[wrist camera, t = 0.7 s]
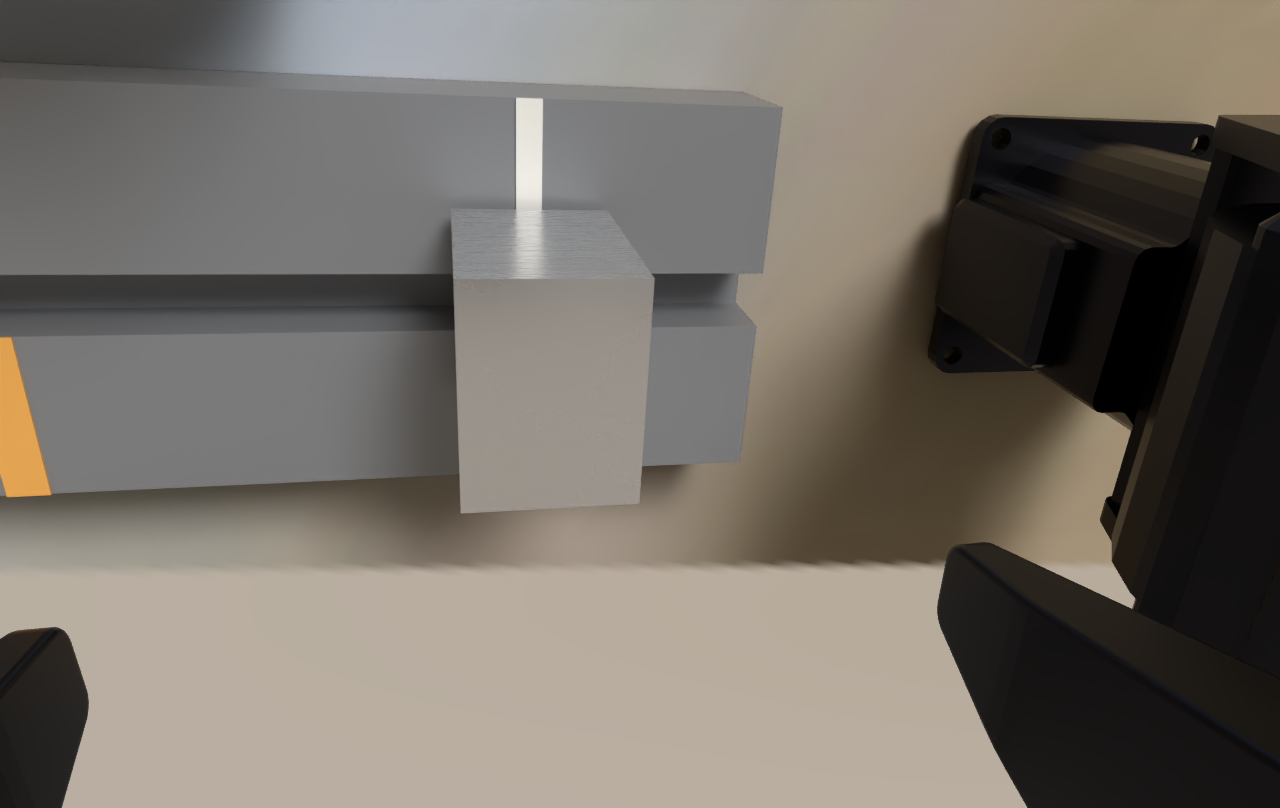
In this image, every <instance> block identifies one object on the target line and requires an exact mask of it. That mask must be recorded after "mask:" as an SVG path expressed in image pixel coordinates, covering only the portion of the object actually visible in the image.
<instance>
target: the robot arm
mask: <svg viewBox="0 0 1280 808" xmlns="http://www.w3.org/2000/svg"><path fill="white" fill-rule="evenodd" d="M998 129H1001V130H1002V137H1001V139H1000V142H999V143H998V144H997V145H995V146H992V144H991V138H992V136H993V134H994V132H996V131H997V130H998ZM1197 137H1198V140H1197V144H1196V146H1195V148H1194V149H1193V150H1192V151H1191V145H1192V143H1193V141H1194V139H1196V138H1197ZM935 301H936V303H937V304H938V306H937V311H936V316H935V320H934V325H933V330H932V335H931V340H930V344H929V349H928V357H929V360H930V362H931V363H932V364H933V365H935V366H936V367H937V368H938V369H940V370H941V371H942V372H946V373H969V372H1006V371H1037V372H1038V373H1040V374H1041V375H1043V376H1044V377H1046V378H1047V379H1049V380H1050V381H1052V382H1053V383H1055V384H1056V385H1058V386H1059V387H1061V388H1062V389H1064V390H1065V391H1067V392H1068V393H1070V394H1071V395H1073V396H1074V397H1075V398H1077V399H1078V400H1080V401H1081V402H1083V403H1084V404H1086V405H1087V406H1089V407H1090V408H1092V409H1093V410H1095V411H1097V412H1101V413H1105V414H1106V415H1108V416H1109V417H1111V418H1112V419H1114V420H1115V421H1117V422H1118V423H1120V424H1121V425H1123V426H1125V427H1126V428H1128V429H1129V430H1131V434H1130V437H1129V441H1128V444H1127V447H1126V451H1125V454H1124V458H1123V461H1122V464H1121V468H1120V471H1119V474H1118V478H1117V481H1116V484H1115V488H1114V491H1113V495H1112V496H1110V497H1107V498H1106V500H1105V503H1104V507H1103V510H1102V513H1101V517H1100V522H1101V524H1102V525H1103V527H1104V529H1105V531H1106V533H1107V534H1108V536H1109V538H1110V540H1111V541H1112V562H1113V564H1114V566H1115V568H1116V569H1117V571H1118V573H1119V574H1120V576H1121V578H1122V580H1123V581H1124V583H1125V585H1126V586H1127V588H1128V590H1129V591H1130V593H1131V594H1132V595H1133V596H1134V597H1135V598H1136V599H1135V602H1134V605H1133V608H1132V609H1131V608H1129V607H1126V606H1124V605H1122V604H1120V603H1118V602H1116V601H1114V600H1111V599H1109V598H1107V597H1105V596H1103V595H1101V594H1098V593H1096V592H1094V591H1092V590H1090V589H1088V588H1086V587H1084V586H1082V585H1079V584H1077V583H1075V582H1073V581H1071V580H1069V579H1066V578H1064V577H1062V576H1060V575H1058V574H1056V573H1054V572H1052V571H1049V570H1047V569H1045V568H1043V567H1041V566H1039V565H1037V564H1034V563H1032V562H1030V561H1028V560H1026V559H1024V558H1022V557H1019V556H1017V555H1015V554H1013V553H1011V552H1009V551H1007V550H1004V549H1002V548H1000V547H998V546H996V545H994V544H991V543H986V542H983V543H972V544H961V545H956V546H954V547H953V548H952V549H951V550H950V551H949V553H948V556H947V559H946V564H945V569H944V574H943V579H942V584H941V589H940V594H939V599H938V606H937V614H938V620H939V624H940V627H941V630H942V632H943V634H944V637H945V639H946V641H947V643H948V646H949V648H950V650H951V653H952V655H953V657H954V660H955V662H956V664H957V666H958V669H959V671H960V673H961V675H962V678H963V680H964V682H965V685H966V687H967V689H968V691H969V694H970V696H971V698H972V701H973V703H974V705H975V707H976V710H977V712H978V714H979V717H980V719H981V721H982V723H983V725H984V728H985V730H986V732H987V734H988V736H989V738H990V740H991V743H992V745H993V747H994V749H995V751H996V752H997V754H998V756H999V758H1000V760H1001V762H1002V763H1003V765H1004V767H1005V769H1006V771H1007V772H1008V774H1009V776H1010V778H1011V780H1012V781H1013V783H1014V785H1015V787H1016V788H1017V790H1018V791H1019V794H1020V795H1021V797H1022V799H1023V801H1024V802H1025V804H1026V806H1027V808H1280V115H1219V116H1218V120H1217V123H1216V126H1215V128H1214V127H1213V126H1211V125H1207V124H1203V123H1198V122H1183V121H1157V120H1130V119H1104V118H1077V117H1051V116H1024V115H998V114H997V115H991V116H988V117H987V118H985V119H983V120H982V121H981V122H980V123H979V125H978V126H977V127H976V130H975V132H974V135H973V139H972V144H971V149H970V153H969V158H968V163H967V168H966V172H965V177H964V182H963V187H962V192H961V196H960V201H959V203H958V204H957V206H956V207H955V208H954V211H953V216H952V221H951V225H950V230H949V235H948V240H947V245H946V249H945V254H944V259H943V264H942V269H941V274H940V278H939V283H938V288H937V293H936V298H935ZM950 347H954V351H953V354H952V355H951V356H949V357H948V358H945V359H944V355H945V353H946V351H947V350H948V349H949V348H950ZM88 704H89V701H88V693H87V689H86V686H85V683H84V680H83V677H82V674H81V671H80V668H79V665H78V662H77V659H76V656H75V652H74V650H73V646H72V643H71V641H70V639H69V636H68V635H67V633H66V632H65V631H64V630H62V629H60V628H57V627H51V628H39V629H27V630H18V631H14V632H11V633H9V634H7V635H6V636H4V637H3V638H1V639H0V808H62V805H63V801H64V797H65V794H66V791H67V787H68V784H69V780H70V777H71V773H72V770H73V766H74V762H75V759H76V755H77V752H78V748H79V745H80V741H81V738H82V735H83V731H84V728H85V724H86V720H87V716H88V707H89V705H88Z"/></svg>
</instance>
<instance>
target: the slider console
mask: <svg viewBox="0 0 1280 808" xmlns="http://www.w3.org/2000/svg"><path fill="white" fill-rule="evenodd" d="M782 109H783V107H780V106H778V105H775V104H772V103H770V102H767V101H765V100H762V99H760V98H757V97H755V96H752V95H750V94H747V93H745V92H729V91H704V90H680V89H655V88H631V87H606V86H582V85H557V84H533V83H508V82H484V81H459V80H435V79H410V78H386V77H361V76H337V75H312V74H288V73H263V72H239V71H214V70H189V69H165V68H140V67H116V66H91V65H67V64H42V63H18V62H0V496H7V497H22V496H44V495H52V494H55V493H76V492H98V491H119V490H141V489H163V488H184V487H206V486H227V485H249V484H270V483H292V482H313V481H335V480H356V479H378V478H399V477H421V476H442V475H459V448H458V419H457V389H456V358H455V326H454V297H453V262H452V231H451V209H515V210H596V211H608V212H609V214H610V215H611V217H612V218H613V219H614V221H615V222H616V224H617V225H618V227H619V228H620V229H621V231H622V232H623V234H624V235H625V237H626V238H627V240H628V241H629V242H630V244H631V245H632V247H633V248H634V250H635V251H636V252H637V254H638V255H639V257H640V258H641V260H642V261H643V262H644V264H645V265H646V267H647V268H648V270H649V271H650V273H651V274H652V275H653V277H654V278H655V281H654V296H653V310H652V325H651V340H650V355H649V370H648V384H647V399H646V414H645V429H644V444H643V458H642V466H658V465H679V464H701V463H722V462H740V458H741V450H742V441H743V433H744V425H745V416H746V408H747V400H748V392H749V383H750V375H751V367H752V358H753V350H754V342H755V333H756V325H755V324H754V323H753V322H752V321H751V319H750V318H749V317H748V316H747V315H746V314H745V313H744V312H743V310H742V309H741V308H740V307H739V306H738V305H737V304H736V303H735V300H736V291H737V282H738V273H763V267H764V259H765V250H766V242H767V234H768V225H769V217H770V209H771V200H772V192H773V184H774V175H775V167H776V159H777V151H778V142H779V134H780V126H781V117H782Z"/></svg>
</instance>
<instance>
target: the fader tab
mask: <svg viewBox="0 0 1280 808" xmlns="http://www.w3.org/2000/svg"><path fill="white" fill-rule="evenodd" d="M451 231H452V262H453V297H454V326H455V358H456V389H457V419H458V448H459V477H460V506H461V514H462V513H480V512H498V511H516V510H534V509H552V508H571V507H589V506H607V505H625V504H639V503H640V488H641V473H642V458H643V444H644V429H645V414H646V399H647V384H648V370H649V355H650V340H651V325H652V310H653V296H654V281H655V278H654V277H653V275H652V274H651V273H650V271H649V270H648V268H647V267H646V265H645V264H644V262H643V261H642V260H641V258H640V257H639V255H638V254H637V252H636V251H635V250H634V248H633V247H632V245H631V244H630V242H629V241H628V240H627V238H626V237H625V235H624V234H623V232H622V231H621V229H620V228H619V227H618V225H617V224H616V222H615V221H614V219H613V218H612V217H611V215H610V214H609V212H608V211H596V210H515V209H451Z"/></svg>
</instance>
